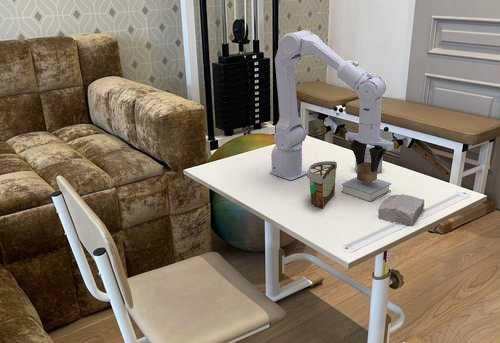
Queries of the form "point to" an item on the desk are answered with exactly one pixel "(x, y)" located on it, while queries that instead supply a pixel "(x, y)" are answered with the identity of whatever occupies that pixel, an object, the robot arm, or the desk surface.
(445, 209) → the desk surface
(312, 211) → the desk surface
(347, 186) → the book
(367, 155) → the medicine box
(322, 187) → the food container
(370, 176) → the walnut block
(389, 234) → the desk surface
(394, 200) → the stone block
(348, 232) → the desk surface
